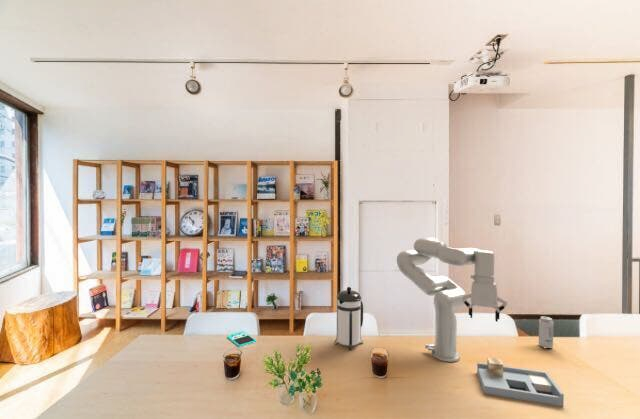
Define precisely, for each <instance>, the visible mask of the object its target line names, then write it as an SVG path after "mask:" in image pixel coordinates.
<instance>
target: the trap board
mask: <svg viewBox="0 0 640 419" xmlns="http://www.w3.org/2000/svg"><path fill="white" fill-rule="evenodd" d="M476 368H477V369H476V373H477V376H478V379H479V382H480V384H481V385H480V386H481V388H482V391H483V393H484V394H485V395H490V396H497V397H502V398H503V397H504V398H508V399H509V398H510V399H515V400H522V401H528V402H535V403H540V404H545V405H552V406H556V407H557V406H558V407H564V400H565V399H564V396H565V395H564V392H563V391H562V390H561V389H560V387H559V386H558V384H557V383H556V382H555V381H554V380H553V378H552V377H551V376H550V374H549V373H548V372H547V371H543V370H536V369H534V370H533V369H527V368H521V367H512V366H506V365H503V377H499V376H493V375H489V373H488V370H487V362H486V363H485V362H478V361H477V364H476Z"/></svg>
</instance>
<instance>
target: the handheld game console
mask: <svg viewBox="0 0 640 419" xmlns="http://www.w3.org/2000/svg"><path fill="white" fill-rule="evenodd" d="M227 339H228V340H230V341H231V342H232V343H233V342H234V343H233V344H235V345H236V346H237V347H238V346H239V347H238V348H241V347H240V346H242V347H244V346H243V345H245V346H247V345H246V344H248V345H250V344H249V343H251V344H253V342H255V343H257V340H256V339H255V338H253V337H252V336H250V335H249V334H247V333H246V332H245V331H239V332H235V333H231V334H229V335H228V336H227Z"/></svg>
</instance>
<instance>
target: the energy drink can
mask: <svg viewBox="0 0 640 419" xmlns="http://www.w3.org/2000/svg"><path fill="white" fill-rule="evenodd" d="M538 322H539V323H538V345H539V347H540V346H542V347H546V348H551V349H552V348H553V347H554V320H553V318H552V317H550V316H544V315H543V316H540V318H539V319H538ZM542 347H541V348H542Z"/></svg>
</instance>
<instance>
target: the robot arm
mask: <svg viewBox="0 0 640 419" xmlns="http://www.w3.org/2000/svg"><path fill="white" fill-rule="evenodd" d="M432 258H435V259H438V260H439V261H440V262H442V263H444V264H447V265H452V266H457V267H462V266H463V267H465V266H469V265H470V266H471V265H474V271H473V272H474V273H473V274H471V275H470V279H472V281H471V282H472V283H471V288H470V293H468V294H467V293H466V291H465V290H464V289H462V288H461V286H459V285H457V283H456V282H454V281H453V280H451V279H450V278H449V277H447V275H442V274H436V275H430V274H429V273H428V272H426V271H425V270H424V269H423V268H421V267H419V266H418V265H423V264H425V263H427V262H428V261H429V260H431V259H432ZM396 264H397V267H398V269H399V271H400V272H401V274H403V276H405V277H406V278H407V279H409V280H410V281H411V282H412V283H413V284H414V285H415V286H417V287H418V288H419V289H420V290H421V291H422V292H423V293H424V294H425V295H427V296H428V297H429V296H430V297H432V296H433V306H434V313H435V316H434V317H435V320H434V321H435V325H434V326H435V327H434V329H435V336H434V338H435V339H434V340H435V342H434V343H432V344H429V343H428V344H427V343H425V344H424V345H425V349H427V350H428V351H431V355H432V356H433V358H435V359H437V360H439V361H443V362H449V363H451V362H452V363H454V362H457V361H459V360H460V356H461V355H460V354H459V352H458V351H457V329H458V328H457V326H458V324H457V322H458V321H457V316H456V314H455V310H458V309H460V308H463V307H467V308H468V315H469V316H470V319H472V318H473V307H474V306H476V307H484V308H491V309H494V310H495V313H494V314H495V315H494V316H495V317H494V318H495V322H498V321H499V320H500V313H501V311H503V310H505V308H506V307H507V305H508V302H507V301H506V300H504V299H503V298H501V297H499V296H498V288H497V284H496V282H495V253H494V252H493V250H492V251H491V250H487V249H486V250H485V249H479V248H476V247H463V248H462V247H461V248H454V247H453V248H452V247H448V245H447V243H446V242H445V241H440V240H439V239H438V238H435V237H422V238H418V239H417V240H415V241H414V244H413V249H408V250H404V251H401V252H399V253H398V254H397V256H396ZM469 298H470V303H469ZM498 302H500V304H501V305H500V306H498Z"/></svg>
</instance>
